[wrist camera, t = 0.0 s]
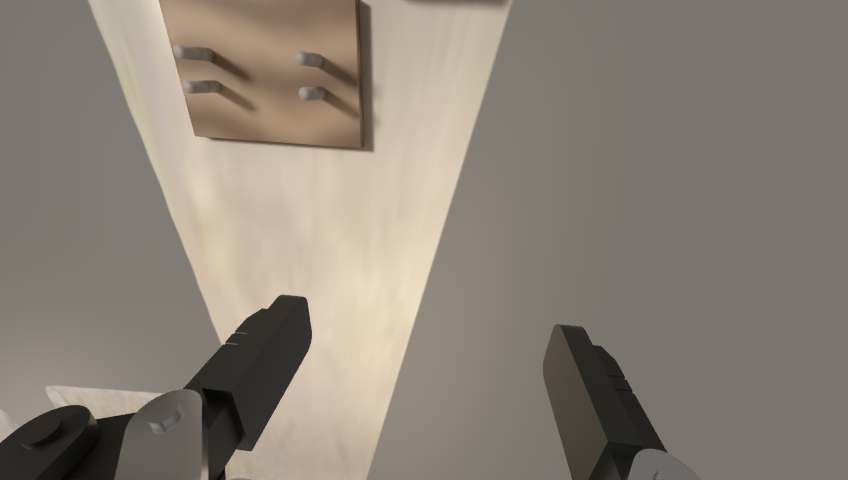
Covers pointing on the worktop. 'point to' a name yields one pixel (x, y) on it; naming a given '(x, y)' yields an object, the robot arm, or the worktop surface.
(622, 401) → the robot arm
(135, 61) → the worktop surface
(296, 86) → the pin tray
